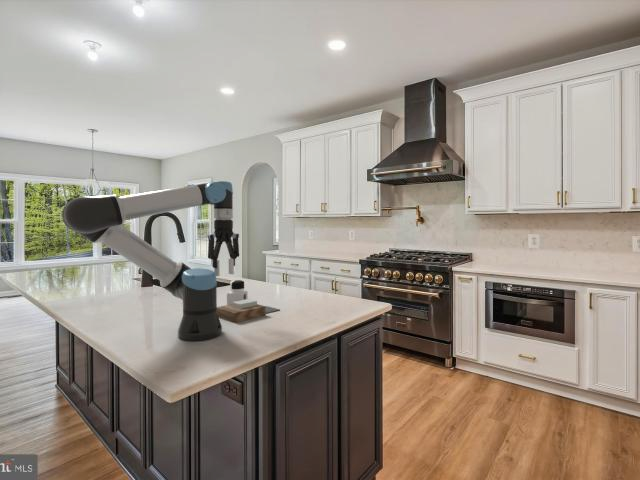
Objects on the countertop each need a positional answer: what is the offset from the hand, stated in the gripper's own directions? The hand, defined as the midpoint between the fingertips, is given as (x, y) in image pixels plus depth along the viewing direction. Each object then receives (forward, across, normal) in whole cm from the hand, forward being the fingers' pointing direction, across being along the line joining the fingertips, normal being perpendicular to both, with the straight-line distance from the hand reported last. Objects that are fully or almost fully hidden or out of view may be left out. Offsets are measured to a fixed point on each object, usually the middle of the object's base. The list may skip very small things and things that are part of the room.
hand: (224, 274), depth 150 cm
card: (+15, +10, 0) cm, 18 cm away
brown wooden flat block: (+19, +8, 0) cm, 21 cm away
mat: (+19, +21, 0) cm, 28 cm away
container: (+19, +15, +14) cm, 28 cm away
